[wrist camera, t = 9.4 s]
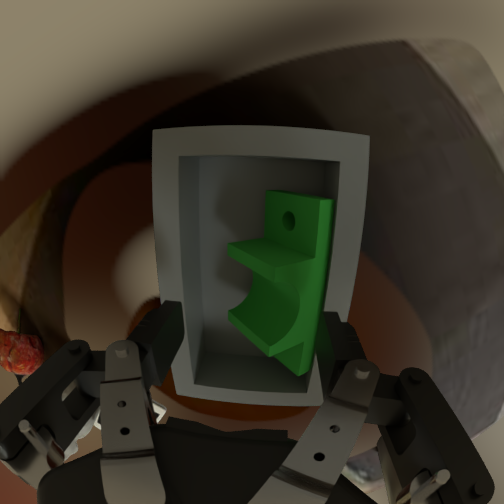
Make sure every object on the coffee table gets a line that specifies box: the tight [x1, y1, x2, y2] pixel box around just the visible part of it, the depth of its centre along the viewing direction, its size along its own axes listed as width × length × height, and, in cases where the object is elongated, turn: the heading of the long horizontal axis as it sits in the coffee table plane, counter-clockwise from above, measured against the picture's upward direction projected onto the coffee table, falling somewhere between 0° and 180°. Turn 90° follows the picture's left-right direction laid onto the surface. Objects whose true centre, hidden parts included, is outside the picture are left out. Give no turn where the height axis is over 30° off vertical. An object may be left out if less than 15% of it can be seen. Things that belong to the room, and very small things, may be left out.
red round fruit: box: [0, 309, 44, 385], centre depth 22 cm, size 7×7×10 cm
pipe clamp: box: [227, 190, 335, 376], centre depth 16 cm, size 11×4×5 cm
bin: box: [152, 125, 370, 406], centre depth 17 cm, size 18×11×5 cm, turn 178°
